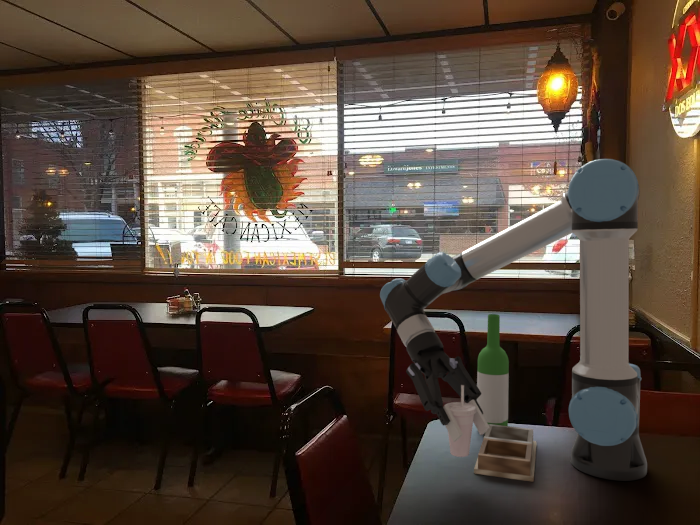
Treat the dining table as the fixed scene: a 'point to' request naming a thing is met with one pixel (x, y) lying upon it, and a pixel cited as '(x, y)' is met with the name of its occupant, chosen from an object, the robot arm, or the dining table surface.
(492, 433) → the board
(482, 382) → the wine bottle
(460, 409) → the smoothie
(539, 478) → the dining table surface
